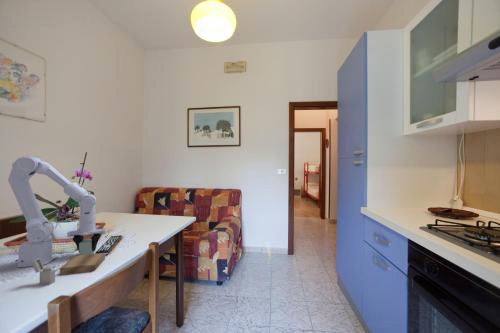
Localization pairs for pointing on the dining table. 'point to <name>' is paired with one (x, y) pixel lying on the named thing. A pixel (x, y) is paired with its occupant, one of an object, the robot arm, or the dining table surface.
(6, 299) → the dining table surface
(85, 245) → the teal block
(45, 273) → the lighter
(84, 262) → the walnut base
